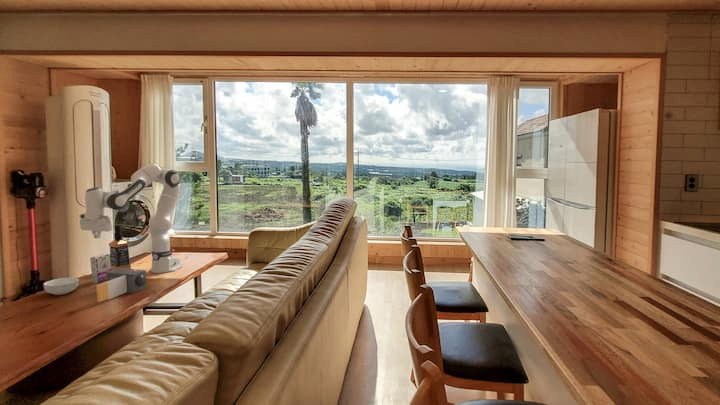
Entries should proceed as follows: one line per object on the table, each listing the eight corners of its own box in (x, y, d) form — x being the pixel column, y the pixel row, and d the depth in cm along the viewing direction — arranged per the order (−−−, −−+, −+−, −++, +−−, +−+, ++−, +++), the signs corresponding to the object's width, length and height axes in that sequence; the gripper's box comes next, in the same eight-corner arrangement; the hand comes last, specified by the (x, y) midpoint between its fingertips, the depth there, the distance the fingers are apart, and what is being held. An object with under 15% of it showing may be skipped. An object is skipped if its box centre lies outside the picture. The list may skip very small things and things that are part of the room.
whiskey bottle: (109, 271, 285) (106, 225, 281) (123, 267, 293) (120, 223, 289) (117, 273, 279) (114, 227, 276) (131, 269, 288) (129, 224, 284)
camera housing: (120, 284, 254) (119, 266, 253) (148, 288, 248) (147, 269, 247) (106, 290, 245) (105, 270, 243) (135, 293, 239) (134, 273, 237)
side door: (125, 291, 240) (124, 275, 239) (127, 291, 240) (126, 275, 239) (97, 303, 221) (96, 285, 220) (99, 303, 221) (98, 285, 220)
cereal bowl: (86, 290, 245) (85, 278, 244) (58, 299, 229) (57, 287, 228) (66, 287, 250) (65, 275, 249) (37, 295, 235) (36, 283, 234)
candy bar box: (106, 277, 269) (104, 253, 267) (112, 278, 268) (110, 253, 266) (91, 283, 258) (89, 257, 256) (98, 283, 257) (96, 258, 255)
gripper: (113, 215, 243) (115, 237, 245) (86, 213, 249) (88, 236, 250) (104, 216, 237) (106, 240, 239) (77, 215, 243) (79, 238, 244)
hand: (97, 238), depth 245 cm, fingers closed
